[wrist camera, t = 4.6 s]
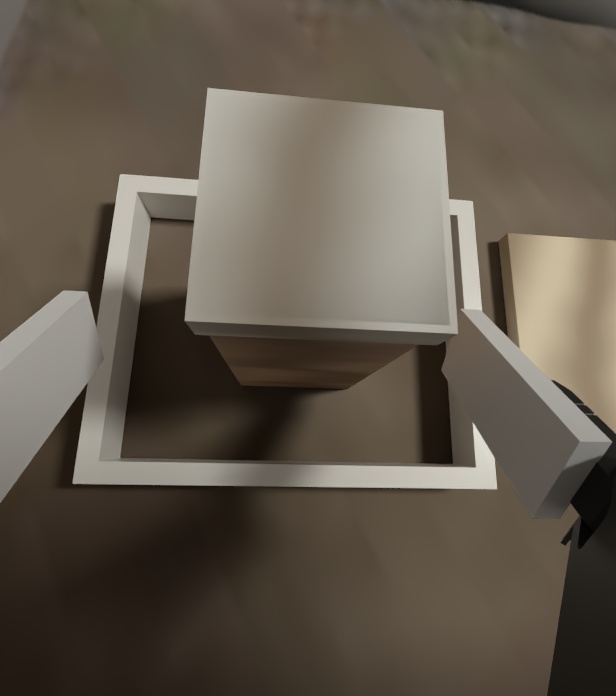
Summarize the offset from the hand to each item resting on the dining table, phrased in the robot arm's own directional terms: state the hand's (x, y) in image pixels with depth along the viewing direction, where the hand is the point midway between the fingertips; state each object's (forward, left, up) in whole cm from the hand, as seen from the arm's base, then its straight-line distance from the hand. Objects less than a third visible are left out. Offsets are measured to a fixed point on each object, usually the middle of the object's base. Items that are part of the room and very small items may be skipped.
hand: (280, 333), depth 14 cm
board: (-19, -2, -8) cm, 21 cm away
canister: (-1, -2, -8) cm, 8 cm away
